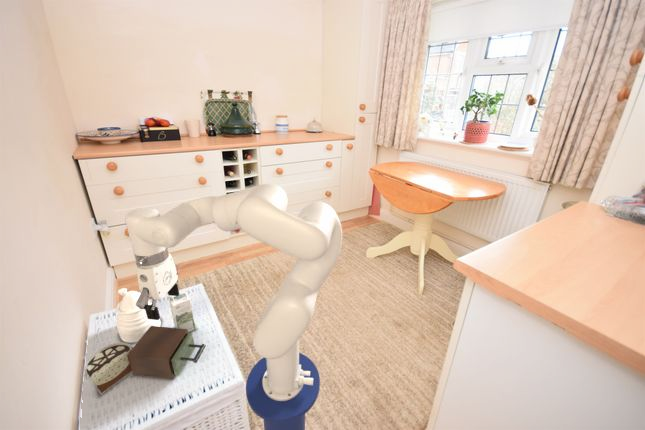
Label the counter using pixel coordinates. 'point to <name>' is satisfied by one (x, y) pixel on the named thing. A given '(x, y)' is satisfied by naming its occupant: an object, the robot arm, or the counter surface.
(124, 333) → the honey pot
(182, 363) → the drawer
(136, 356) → the cabinet
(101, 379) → the mint chocolate cake slice
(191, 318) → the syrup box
